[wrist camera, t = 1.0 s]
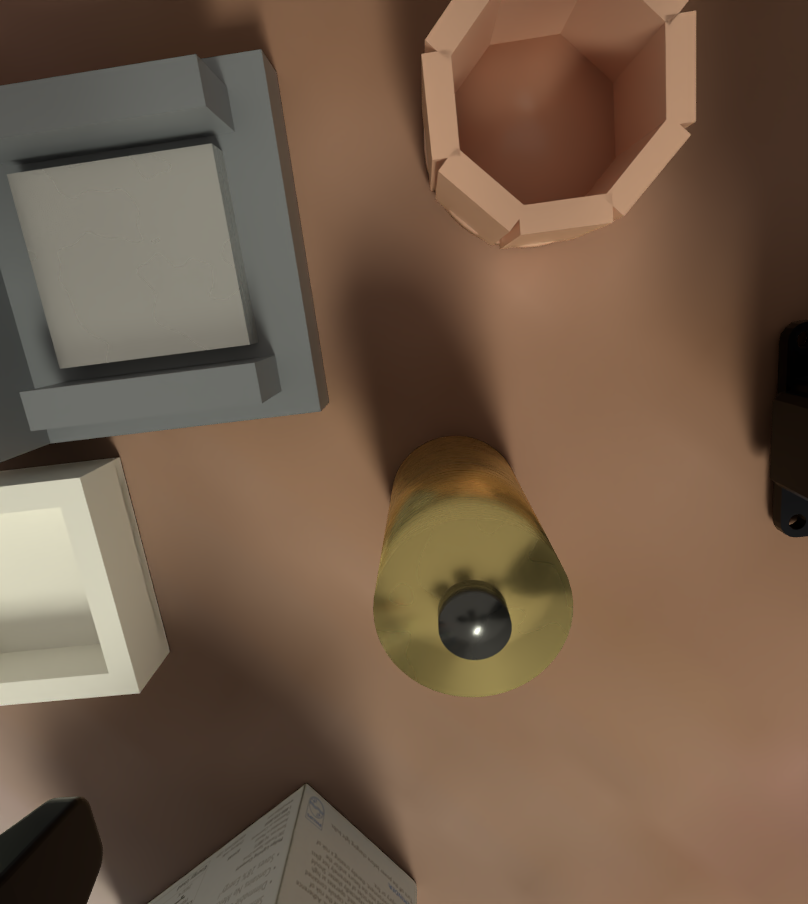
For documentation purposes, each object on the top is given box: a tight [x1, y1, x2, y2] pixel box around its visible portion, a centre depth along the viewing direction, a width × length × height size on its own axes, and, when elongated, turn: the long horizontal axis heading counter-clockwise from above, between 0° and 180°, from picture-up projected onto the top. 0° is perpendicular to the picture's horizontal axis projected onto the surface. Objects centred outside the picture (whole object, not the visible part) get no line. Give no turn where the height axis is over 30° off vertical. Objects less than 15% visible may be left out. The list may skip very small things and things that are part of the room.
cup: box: [421, 0, 696, 249], centre depth 14 cm, size 6×6×4 cm
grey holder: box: [0, 49, 329, 462], centre depth 15 cm, size 11×9×5 cm
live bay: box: [0, 457, 170, 706], centre depth 18 cm, size 7×7×2 cm
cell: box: [373, 436, 573, 697], centre depth 15 cm, size 4×4×8 cm
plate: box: [7, 143, 258, 369], centre depth 15 cm, size 5×5×1 cm
